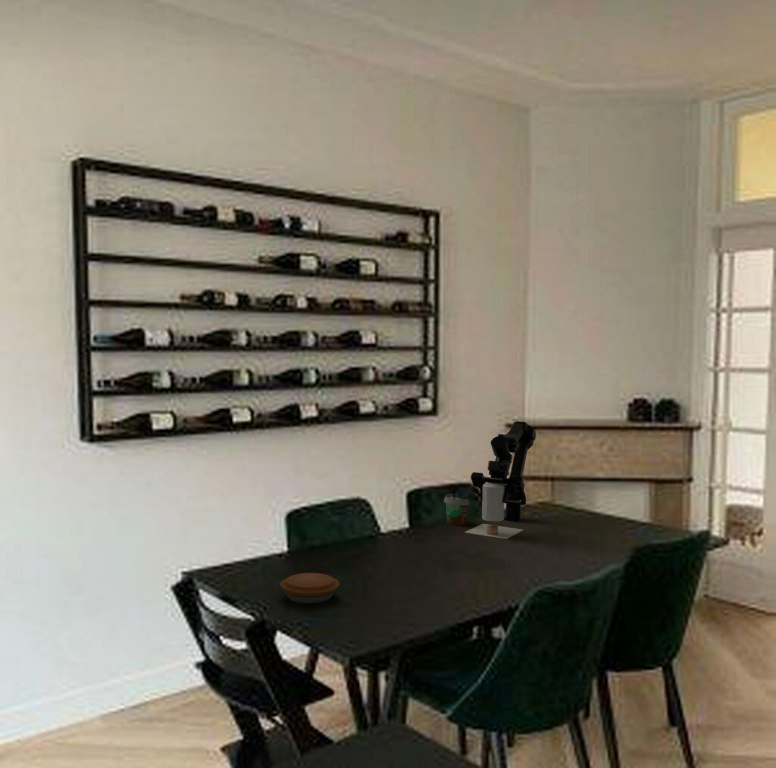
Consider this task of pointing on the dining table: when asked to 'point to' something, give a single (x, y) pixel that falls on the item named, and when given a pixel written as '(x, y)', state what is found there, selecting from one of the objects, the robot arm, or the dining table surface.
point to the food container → (456, 510)
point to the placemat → (502, 531)
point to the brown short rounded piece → (492, 530)
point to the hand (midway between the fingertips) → (492, 501)
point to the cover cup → (493, 502)
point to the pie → (309, 587)
